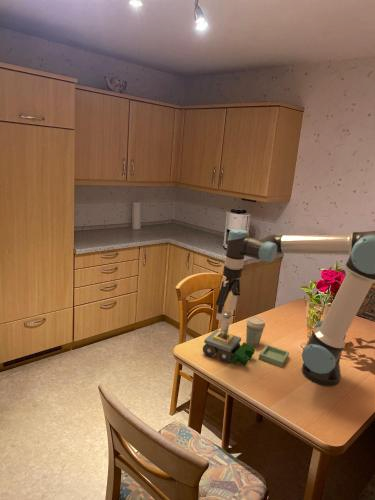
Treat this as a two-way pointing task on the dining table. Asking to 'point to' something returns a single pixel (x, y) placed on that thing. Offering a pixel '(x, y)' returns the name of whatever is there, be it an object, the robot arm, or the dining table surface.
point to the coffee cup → (254, 331)
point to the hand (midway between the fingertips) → (225, 314)
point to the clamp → (243, 354)
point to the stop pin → (225, 325)
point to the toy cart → (221, 346)
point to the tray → (274, 355)
